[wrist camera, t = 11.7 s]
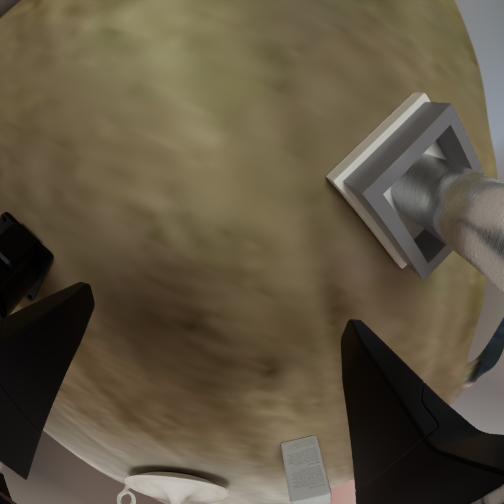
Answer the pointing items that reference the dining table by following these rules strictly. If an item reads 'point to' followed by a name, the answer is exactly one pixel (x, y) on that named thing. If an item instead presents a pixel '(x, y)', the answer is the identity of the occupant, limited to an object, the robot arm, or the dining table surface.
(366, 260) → the dining table surface
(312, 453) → the small box
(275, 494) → the dining table surface
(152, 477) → the candlestick
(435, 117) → the holder
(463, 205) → the black-capped silver cylinder
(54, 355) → the robot arm
